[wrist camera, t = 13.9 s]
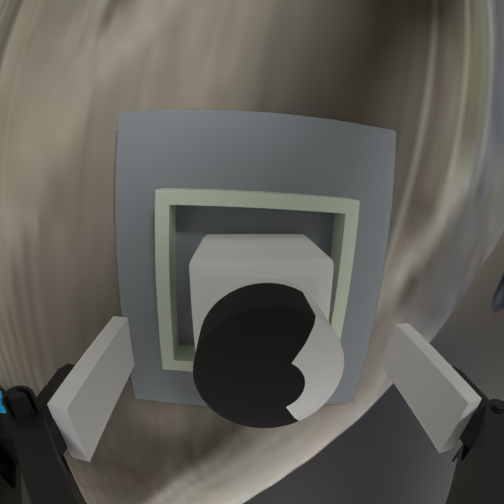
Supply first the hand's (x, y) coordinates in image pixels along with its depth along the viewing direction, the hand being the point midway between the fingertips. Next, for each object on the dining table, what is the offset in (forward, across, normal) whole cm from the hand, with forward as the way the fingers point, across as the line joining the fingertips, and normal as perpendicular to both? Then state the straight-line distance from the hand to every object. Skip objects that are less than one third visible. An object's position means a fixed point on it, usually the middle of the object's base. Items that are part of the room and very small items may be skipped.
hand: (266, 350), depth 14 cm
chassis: (+12, 0, 0) cm, 12 cm away
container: (+11, 0, 0) cm, 11 cm away
